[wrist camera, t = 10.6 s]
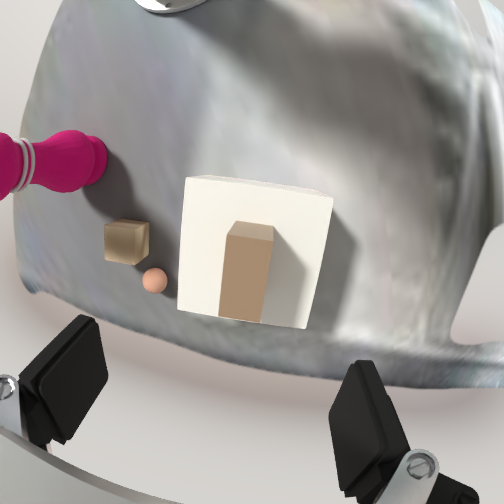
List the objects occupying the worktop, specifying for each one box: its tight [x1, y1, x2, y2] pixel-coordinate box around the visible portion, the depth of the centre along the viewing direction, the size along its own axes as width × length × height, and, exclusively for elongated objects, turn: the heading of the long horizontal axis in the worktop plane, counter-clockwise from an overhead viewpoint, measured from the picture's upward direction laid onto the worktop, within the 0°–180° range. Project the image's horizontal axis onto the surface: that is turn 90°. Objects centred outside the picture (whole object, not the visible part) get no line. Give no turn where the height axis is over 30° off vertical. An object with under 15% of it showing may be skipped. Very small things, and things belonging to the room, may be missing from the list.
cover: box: [177, 175, 334, 329], centre depth 25 cm, size 12×12×13 cm
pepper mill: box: [0, 130, 107, 200], centre depth 20 cm, size 7×7×20 cm
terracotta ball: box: [143, 268, 167, 293], centre depth 32 cm, size 3×3×3 cm
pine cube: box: [104, 219, 150, 265], centre depth 31 cm, size 4×4×4 cm
